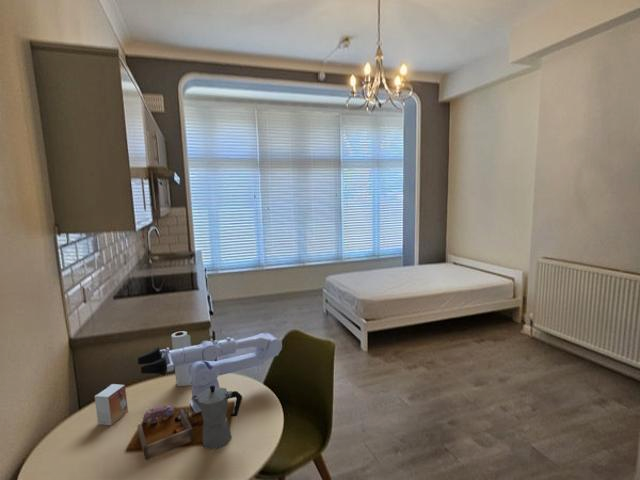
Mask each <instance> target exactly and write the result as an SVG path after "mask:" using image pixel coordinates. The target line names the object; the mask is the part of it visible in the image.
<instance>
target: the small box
mask: <svg viewBox="0 0 640 480" xmlns="http://www.w3.org/2000/svg"><path fill="white" fill-rule="evenodd" d="M94 402H95V410H96V417H97V424H98V425H102V426H103V425H106V426H113V425H114V424H115V423H116V422H118V421H119V419H121V418H122V417H124V416H125V415H126V414H127V413H128V412H129V408H128V400H127V391H126V385H125V384H116V383H111V384H109V386H107V387H106V388H105V389H103V390H101V391H100V392H99V393H97V394H96V395H94Z"/></svg>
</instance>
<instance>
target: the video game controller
mask: <svg viewBox="0 0 640 480" xmlns="http://www.w3.org/2000/svg"><path fill="white" fill-rule="evenodd" d="M174 414H175V408H174V407H173V406H172V405H170V404H166V405H159V406H156V407H154V408H152V409H150V410H146V412H145V413H144V415H143V417H142V420H143V422H144V424H147V423H150V424H153V423H154V424H156V423H158V422H159V417H160V421H162V422H163V421H166V420H168V419H169V417H171V416H173V415H174Z"/></svg>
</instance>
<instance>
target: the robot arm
mask: <svg viewBox="0 0 640 480" xmlns="http://www.w3.org/2000/svg"><path fill="white" fill-rule="evenodd" d="M249 348H255V350H254V352H250V353H246V354H243V355H242V354H241V355H237V356H232V357H228V358H225V359H224V358H222V359H220V360H217V358H220V357H224V356H229V355H232V354H235V353H236V352H237V351H238V350H243V349H249ZM282 348H283V342H282V340H280V339H279V338H277V337H275V336H274V335H273V334H272V333H271V332H263V333H262V332H261V333H258V334H256V335H252V336H249V337H245V338H240V339H235V338H233V337H232V338H231V337H230V336H228V337H226V338H225V339H221V340H220V339H219V340H217V339H215V340H213V342H212V341H210V340H206V339H205V340H203V341H201V342H200V343H199V344H195V345H191V346H189V347H184V348H179V349H174V350H173V349H170V347H166V349H165V348H164V349H160V347H156V348H155V349H153V350H152V351H150V352H148V353H146V354H143V355H142V356H139V357H138V358H137V364H138V365H142V366H140V373H141V374H145V375H146V374H154V375H155V374H156V375H162V376H166V371H167V372H172V371H175V366H180V365H184V364H188V363H191V365H190V366H189V373H190V375H191V376H192V381H191V384H190V388H191V398H192V397H193V396H195V395H197V394H200V393H202V392H203V391H204V390H207V389H210V386H212V385H214V386H215V387H220V384H219V381H218V378H219V377H220V376H223V375H226V374H227V375H228V374H232V373H235V372H238V371H242V370H246V369H251V368H255V367H259V366H262V365H264V364H266V362H268V361H269V360H271V359H272V358H274V357H277V356H279V355H280V352H281V351H282ZM189 404H190V406H191V408H192V409H193V410H192V411H193V413H195V414H199V413H202V412H201V409H200V407H199V406H198V405H197V404H196V403H195V401H194V400H191V401H189Z"/></svg>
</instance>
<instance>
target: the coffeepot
mask: <svg viewBox="0 0 640 480" xmlns="http://www.w3.org/2000/svg"><path fill="white" fill-rule="evenodd" d="M233 398H236V399H235V406H234V408H233V410H234V411H233V413H230V417H237V416H238V414H239V410H240V406H241V403H242V401H243V395H242V394H241V393H240V392H238V391H233V390H230V391H228V389H227V387H220V386H219V387H215V386H214V385H212V386H210V389H207V390H204V391H203V392H202V393H200V394H197V395H195V396H193V397H192V396H191V401H193V400H194V401H195V403H196V404H197V405H198V406H199V407H200V409H201V412H200V413H201V416H202V420H203V423H202V435H201V442H202V446H203V448H206V449H208V450H216V449H220V448H222V447H224V446H227V444H229V442H230V441H231V439H232V433H231V430H230V425H229V421H228V418H227V414H228V404H229V403H228V402H229V400H230V399H233Z"/></svg>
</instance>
